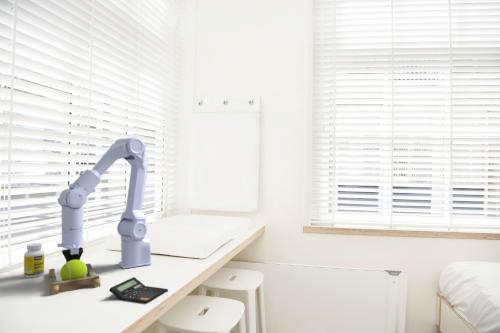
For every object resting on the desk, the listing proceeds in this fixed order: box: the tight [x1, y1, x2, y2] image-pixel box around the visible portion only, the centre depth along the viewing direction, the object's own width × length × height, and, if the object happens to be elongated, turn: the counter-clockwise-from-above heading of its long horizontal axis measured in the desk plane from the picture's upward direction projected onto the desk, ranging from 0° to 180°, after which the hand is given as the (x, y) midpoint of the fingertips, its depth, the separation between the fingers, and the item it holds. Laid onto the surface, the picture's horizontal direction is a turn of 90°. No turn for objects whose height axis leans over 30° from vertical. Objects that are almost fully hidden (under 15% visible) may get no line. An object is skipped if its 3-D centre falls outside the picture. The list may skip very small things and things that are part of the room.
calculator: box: [109, 276, 169, 305], centre depth 92 cm, size 9×12×3 cm
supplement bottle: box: [23, 242, 45, 279], centre depth 109 cm, size 5×5×10 cm
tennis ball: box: [59, 259, 88, 281], centre depth 101 cm, size 7×7×7 cm
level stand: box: [48, 263, 101, 296], centre depth 104 cm, size 12×22×2 cm, turn 32°
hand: (72, 273), depth 105 cm, fingers closed
